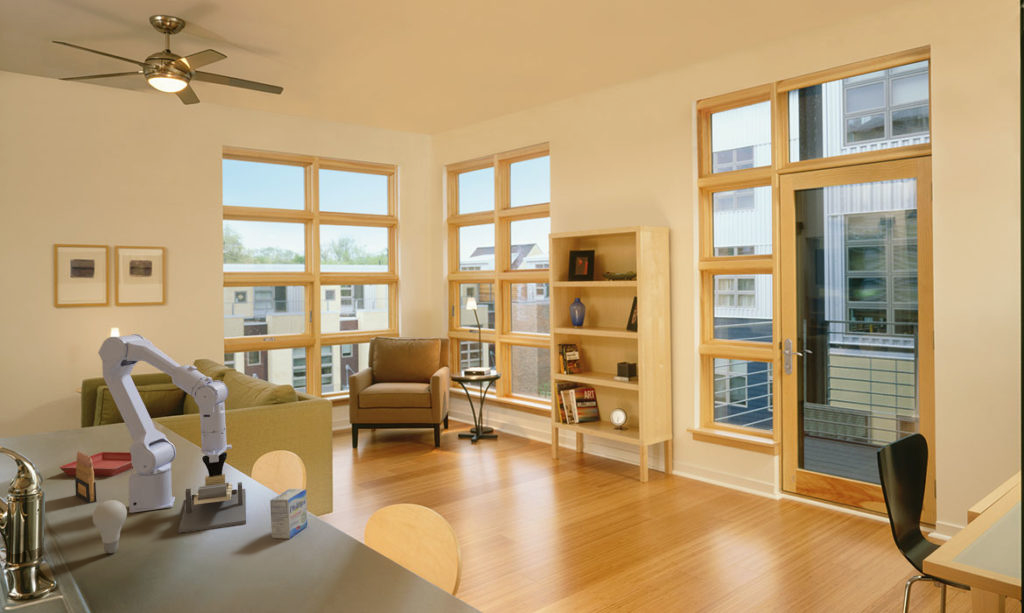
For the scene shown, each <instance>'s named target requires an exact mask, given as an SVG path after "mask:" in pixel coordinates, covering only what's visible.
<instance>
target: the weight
mask: <svg viewBox="0 0 1024 613" xmlns="http://www.w3.org/2000/svg"><path fill="white" fill-rule="evenodd" d="M204 480H205V484H204V486H210V485H218V484H225V483H226V473H222V474H220V475H212V476H209V475H206V476H205V477H204Z"/></svg>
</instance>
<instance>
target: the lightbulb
mask: <svg viewBox="0 0 1024 613" xmlns="http://www.w3.org/2000/svg"><path fill="white" fill-rule="evenodd" d="M127 515H128V510H127V508H126V506H125V504H124V503H122V501H121V502H120V501H119V500H114V499H111V500H106V501H103V502H101V503H100V504H99V505H98V506H97V507H95V509H94V510H93V513H92V522H93V525H94V526H95V527H96V529H97V530H98V532H99V535H100V536H101V541H102V543H103V544H102V545H103V550H104V552H105V553H108V554H111V555H112V554H115V552H116V551H117V550H118V549H119V546H120V545H119V540H120V537H121V536H120V535H121V530H122V527H123V525H124V523H125V521H126V519H127Z"/></svg>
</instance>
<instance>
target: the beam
mask: <svg viewBox="0 0 1024 613" xmlns="http://www.w3.org/2000/svg"><path fill="white" fill-rule="evenodd" d="M237 490H238V488H237V489H233V483H229V482H225V484H218V485H210V486H205V485H203V486H199V487H198V490H197V493H196V494H191V496H192V500H194V505H195V504H203V503H210V502H218V501H225V500H230V499H231V494H232V495H235V494H237Z"/></svg>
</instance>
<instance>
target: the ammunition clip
mask: <svg viewBox="0 0 1024 613" xmlns="http://www.w3.org/2000/svg"><path fill="white" fill-rule="evenodd" d="M90 456H91V455H90ZM90 456H89V455H87V453H84V452H83V453H82V451H80V450H79V451H78V452H77V454H76V461H77V463H76V476H74V479H75V480H74V481H75V485H74V486H75V497H77V498H79V499H80V500H82V501H84V502H85V503H86V504H93V503H96V502H97V485H96V482H95V476H94V471H93V464H92V459H91V457H90Z"/></svg>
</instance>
